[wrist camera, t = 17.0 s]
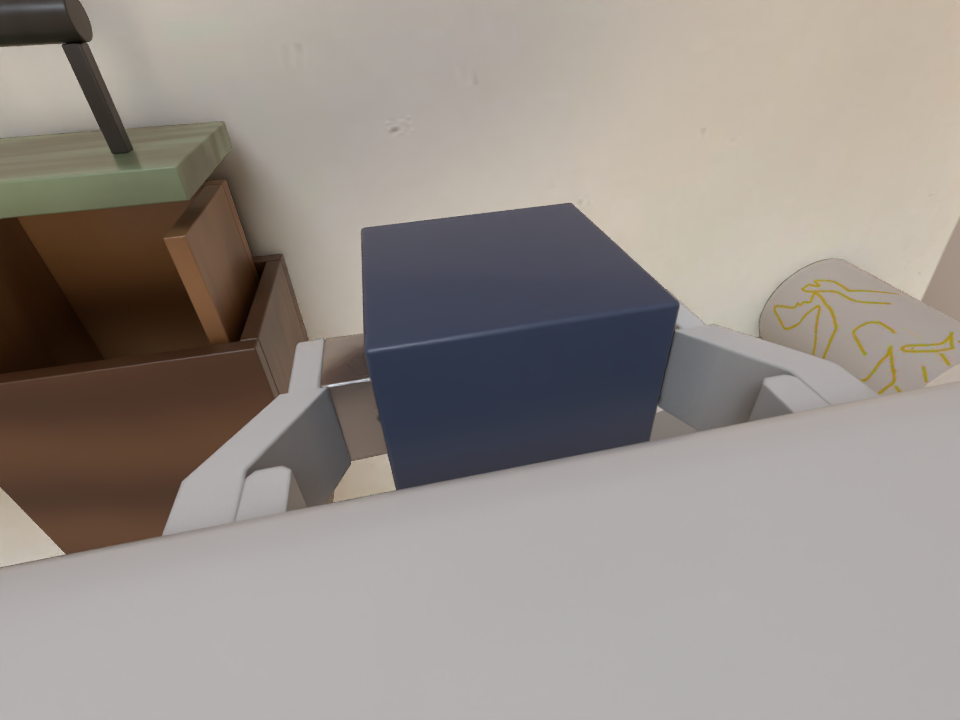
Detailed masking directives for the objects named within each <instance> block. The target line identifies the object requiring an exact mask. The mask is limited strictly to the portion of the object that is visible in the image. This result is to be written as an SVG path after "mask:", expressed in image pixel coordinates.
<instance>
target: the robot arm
mask: <svg viewBox="0 0 960 720" xmlns="http://www.w3.org/2000/svg"><path fill="white" fill-rule="evenodd" d="M666 290H667V289H666ZM667 291H668V290H667ZM668 292H669V291H668ZM669 293H670V292H669ZM670 294H672V293H670ZM672 295H673V294H672ZM673 296H674V295H673ZM674 297H675V296H674ZM675 298H676V297H675ZM676 299H677V298H676ZM677 300H678V299H677ZM678 301H679V300H678ZM679 305H680V307H679V311H678V316H677V320H676V325H675V329H674V334H673V338H672V343H671V347H670V352H669V356H668V361H667V365H666V370H665V374H664V379H663V383H662V388H661V392H660V396H659V401H658V407H660V408H661V409H663V410H665V411H666V412H668V413H670V414H671V415H673V416H675V417H676V418H678V419H680V420H681V421H683V422H685V423H686V424H688V425H690V426H691V427H693V428H695V429H696V430H698V431H699V432H694V433H688V434H683V435H678V436H673V437H668V438H663V439H658V440H652V441H647V442H642V443H637V444H632V445H627V446H622V447H617V448H612V449H607V450H601V451H596V452H591V453H586V454H581V455H576V456H571V457H565V458H560V459H555V460H550V461H545V462H540V463H535V464H529V465H524V466H519V467H514V468H509V469H504V470H499V471H493V472H488V473H483V474H478V475H473V476H468V477H462V478H457V479H452V480H447V481H442V482H437V483H432V484H426V485H421V486H416V487H411V488H406V489H401V490H396V491H390V492H385V493H380V494H375V495H370V496H365V497H360V498H354V499H349V500H344V501H339V502H334V503H329V504H326V502H327V501H328V499H329V498H330V496H331V494H332V493H333V491H334V490H335V488H336V487H337V485H338V483H339V482H340V480H341V479H342V477H343V476H344V474H345V472H346V471H347V469H348V468H349V466H350V465H351V461H354V460H359V459H363V458H368V457H373V456H378V455H382V454H387V448H386V444H385V440H384V436H383V431H382V427H381V423H380V418H379V414H378V410H377V406H376V401H375V397H374V393H373V388H372V384H371V380H370V376H369V371H368V367H367V363H366V358H365V354H364V334H357V335H349V336H341V337H334V338H326V339H318V340H311V341H305V342H300V343H298V344H297V346H296V349H295V355H294V361H293V366H292V372H291V378H290V383H289V389H288V393H286V394H280V395H279V396H278V397H277V398H276V399H274V400H273V401H272V402H271V403H270V404H269V405H268V406H267V407H265V408H264V409H263V410H262V411H261V412H260V413H259V414H258V415H256V416H255V417H254V418H253V419H252V420H251V421H250V422H249V423H247V424H246V425H245V426H244V427H243V428H242V429H241V430H240V431H238V432H237V433H236V434H235V435H234V436H233V437H232V438H230V439H229V440H228V441H227V442H226V443H225V444H224V445H223V446H221V447H220V448H219V449H218V450H217V451H216V452H215V453H214V454H212V455H211V456H210V457H209V458H208V459H207V460H206V461H205V462H203V463H202V464H201V465H200V466H199V467H198V468H197V469H196V470H194V471H193V472H192V473H191V474H190V475H189V476H188V477H187V478H185V479H184V480H183V481H182V483H181V485H180V488H179V491H178V493H177V496H176V499H175V501H174V504H173V507H172V510H171V512H170V515H169V518H168V520H167V523H166V526H165V529H164V531H163V534H162V536H159V537H154V538H149V539H144V540H138V541H133V542H128V543H123V544H118V545H113V546H108V547H102V548H97V549H92V550H87V551H82V552H77V553H72V554H66V555H61V556H56V557H51V558H46V559H41V560H36V561H30V562H25V563H20V564H15V565H10V566H5V567H0V720H960V381H955V382H950V383H945V384H940V385H935V386H930V387H925V388H919V389H914V390H909V391H904V392H899V393H894V394H889V395H884V396H881V395H879V394H878V393H877V392H875V391H874V390H873V389H871V388H870V387H869V386H867V385H866V384H865V383H863V382H862V381H861V380H859V379H858V378H857V377H855V376H854V375H853V374H851V373H850V372H849V371H847V370H846V369H845V368H843V367H842V366H841V365H839V364H838V363H835V362H832V361H829V360H826V359H822V358H819V357H816V356H813V355H810V354H807V353H804V352H800V351H797V350H794V349H791V348H788V347H785V346H782V345H778V344H775V343H772V342H769V341H766V340H763V339H760V338H756V337H753V336H750V335H747V334H744V333H741V332H738V331H734V330H731V329H728V328H725V327H722V326H719V325H716V324H709V325H706V324H705V323H704V322H703V321H702V320H700V319H699V318H698V317H697V316H696V315H695V314H694V313H693V312H692V311H690V310H689V309H688V308H687V307H686V306H685V305H684V304H683V303H682V302H680V301H679Z"/></svg>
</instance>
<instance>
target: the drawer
mask: <svg viewBox="0 0 960 720" xmlns="http://www.w3.org/2000/svg"><path fill="white" fill-rule="evenodd" d="M92 37H93V34H92V28H91V24H90V21H89V18H88V16H87V14H86V12H85V10H84V8H83V6H82V4H81V3H80V1H79V0H0V47H8V46H27V45H46V44H62V47H63V49H64V52H65V54H66V56H67V58H68V60H69V62H70V64H71V67H72V69H73V71H74V73H75V75H76V77H77V80H78V82H79V84H80V86H81V88H82V90H83V93H84V95H85V97H86V99H87V101H88V103H89V105H90V108H91V110H92V112H93V114H94V116H95V118H96V121H97V123H98V125H99V127H100V129H101V131H90V132H77V133H64V134H51V135H38V136H25V137H12V138H0V374H4V373H11V372H18V371H26V370H33V369H40V368H48V367H55V366H62V365H70V364H77V363H84V362H92V361H99V360H106V359H114V358H121V357H128V356H136V355H143V354H150V353H158V352H165V351H172V350H180V349H187V348H194V347H202V346H209V345H216V344H224V343H231V342H238V341H240V338H241V335H242V332H243V330H244V327H245V324H246V321H247V318H248V315H249V312H250V309H251V306H252V303H253V300H254V297H255V294H256V291H257V288H258V285H259V282H260V279H259V276H258V273H257V270H256V267H255V264H254V261H253V258H252V255H251V252H250V249H249V246H248V244H247V241H246V238H245V235H244V232H243V229H242V226H241V223H240V220H239V217H238V214H237V211H236V208H235V205H234V203H233V200H232V197H231V194H230V191H229V188H228V185H227V182H226V180H213V181H206V179H207V178H208V177H209V176H210V174H211V173H212V172H213V171H214V170H215V168H216V167H217V166H218V165H219V164H220V162H221V161H222V160H223V159H224V157H225V156H226V155H227V154H228V153H229V151H230V150H231V149H232V144H231V141H230V138H229V135H228V132H227V129H226V126H225V123H224V122H223V121H221V122H208V123H195V124H182V125H169V126H156V127H143V128H130V129H125V128H124V126H123V124H122V121H121V119H120V117H119V115H118V112H117V110H116V108H115V105H114V103H113V101H112V98H111V96H110V94H109V92H108V89H107V87H106V85H105V82H104V80H103V78H102V76H101V73H100V71H99V69H98V66H97V64H96V62H95V59H94V57H93V55H92V53H91V50H90V48H89V46H88V44H87V43H86V42H90V41H91V40H92ZM64 43H66V44H64Z"/></svg>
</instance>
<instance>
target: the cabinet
mask: <svg viewBox="0 0 960 720" xmlns="http://www.w3.org/2000/svg"><path fill="white" fill-rule="evenodd" d="M252 258H253V261H254V264H255V267H256V270H257V273H258V276H259V279H260V282H259V285H258V288H257V291H256V294H255V297H254V300H253V303H252V306H251V309H250V312H249V315H248V318H247V321H246V324H245V327H244V330H243V332H242V335H241V338H240V341H238V342H231V343H224V344H216V345H209V346H202V347H194V348H187V349H180V350H172V351H165V352H158V353H150V354H143V355H136V356H128V357H121V358H114V359H106V360H99V361H92V362H84V363H77V364H70V365H62V366H55V367H48V368H40V369H33V370H26V371H18V372H11V373H4V374H0V487H1V488H2V489H3V490H4V491H5V492H6V493H7V494H8V495H9V496H10V497H11V498H12V499H13V500H14V501H15V502H16V503H17V504H18V505H19V506H20V507H21V508H22V509H23V511H24V512H25V513H26V514H27V515H28V516H29V517H30V518H31V519H32V520H33V521H34V522H35V523H36V524H37V525H38V526H39V527H40V528H41V529H42V530H43V531H44V532H45V533H46V534H47V535H48V536H49V537H50V538H51V539H52V540H53V541H54V542H55V543H56V544H57V546H58V547H59V548H60V549H61V550H62V551H63V552H64V553H65V554H72V553H77V552H82V551H87V550H92V549H97V548H102V547H108V546H113V545H118V544H123V543H128V542H133V541H138V540H144V539H149V538H154V537H159V536H162V534H163V531H164V529H165V526H166V523H167V520H168V518H169V515H170V512H171V510H172V507H173V504H174V501H175V499H176V496H177V493H178V491H179V488H180V485H181V483H182V481H183V480H184V479H185V478H187V477H188V476H189V475H190V474H191V473H192V472H193V471H194V470H196V469H197V468H198V467H199V466H200V465H201V464H202V463H203V462H205V461H206V460H207V459H208V458H209V457H210V456H211V455H212V454H214V453H215V452H216V451H217V450H218V449H219V448H220V447H221V446H223V445H224V444H225V443H226V442H227V441H228V440H229V439H230V438H232V437H233V436H234V435H235V434H236V433H237V432H238V431H240V430H241V429H242V428H243V427H244V426H245V425H246V424H247V423H249V422H250V421H251V420H252V419H253V418H254V417H255V416H256V415H258V414H259V413H260V412H261V411H262V410H263V409H264V408H265V407H267V406H268V405H269V404H270V403H271V402H272V401H273V400H274V399H276V398H277V397H278V396H279V395H280V394H286V393H288V389H289V383H290V378H291V372H292V366H293V361H294V355H295V349H296V346H297V344H298V343H300V342H305V341H308V338H307V334H306V331H305V328H304V324H303V321H302V318H301V314H300V311H299V308H298V304H297V301H296V298H295V294H294V291H293V288H292V284H291V281H290V278H289V274H288V271H287V268H286V264H285V261H284V258H283V255H282V254H278V255H269V256H260V257H252ZM333 499H334V491H333V493H332V494H331V496H330V498H329V499H328V501H327V502H326V504H329V503H333Z"/></svg>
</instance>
